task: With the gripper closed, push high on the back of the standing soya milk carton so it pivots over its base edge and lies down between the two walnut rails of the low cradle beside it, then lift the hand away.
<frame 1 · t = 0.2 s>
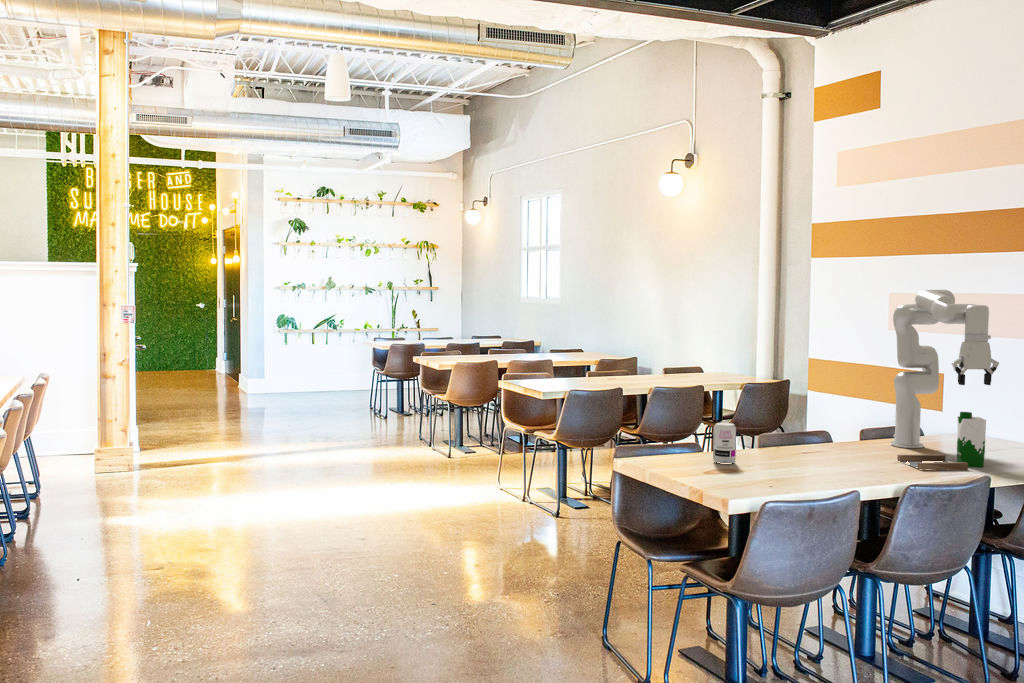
hand: (974, 384, 315), 31 cm above the table, tool pointing down, fingers open, 9 cm apart
supplement can: (724, 463, 326), on the table
soya milk: (970, 465, 322), on the table
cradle: (931, 465, 322), on the table
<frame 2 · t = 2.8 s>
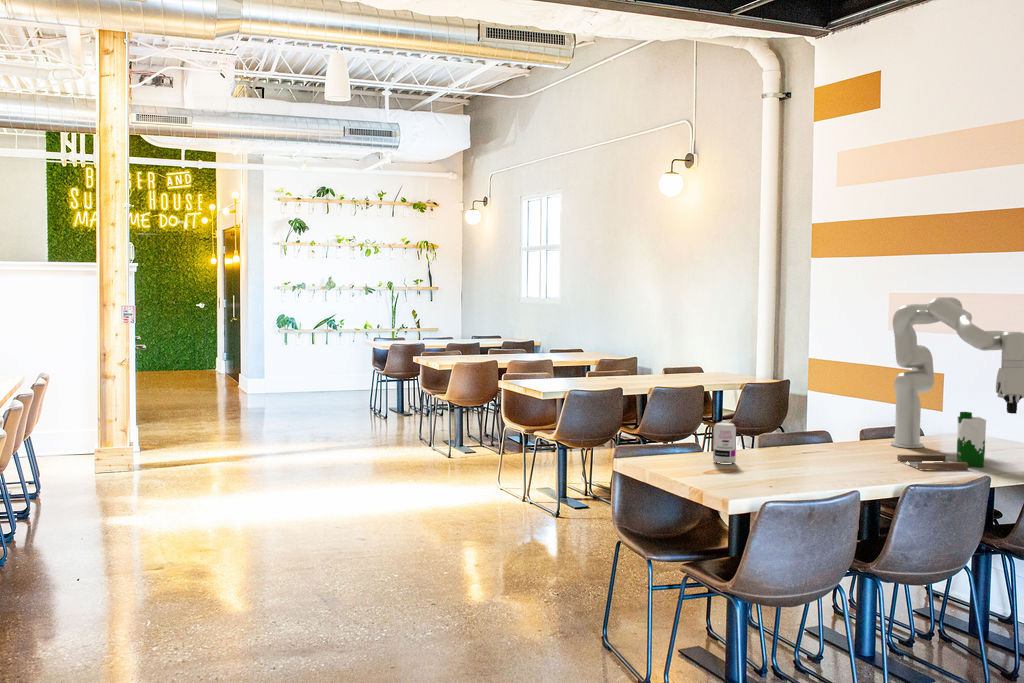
hand: (1011, 413, 322), 20 cm above the table, tool pointing down, fingers closed
nothing on the table moved.
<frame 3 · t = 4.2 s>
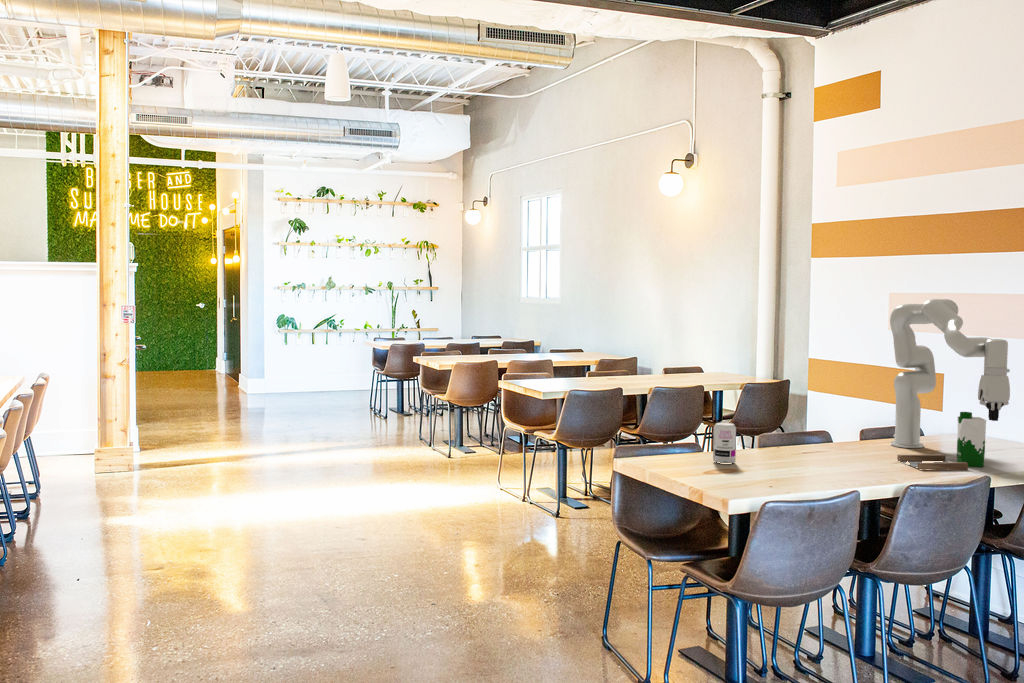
hand: (993, 420, 322), 17 cm above the table, tool pointing down, fingers closed
nothing on the table moved.
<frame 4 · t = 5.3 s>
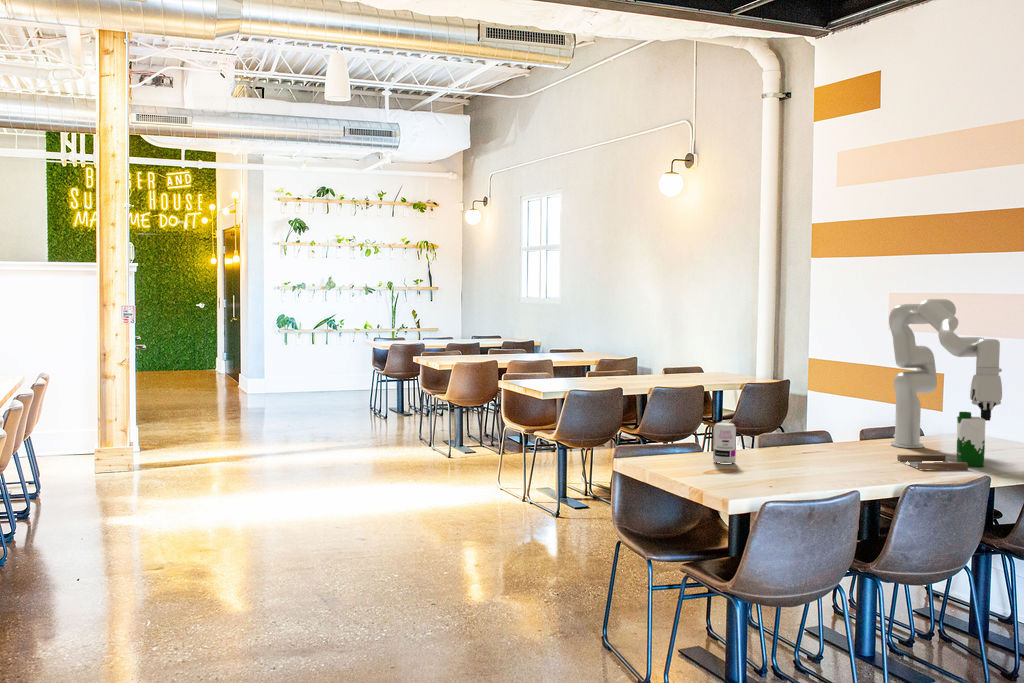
hand: (985, 420, 321), 17 cm above the table, tool pointing down, fingers closed
soya milk: (970, 465, 322), on the table, touching gripper
everything else where it was.
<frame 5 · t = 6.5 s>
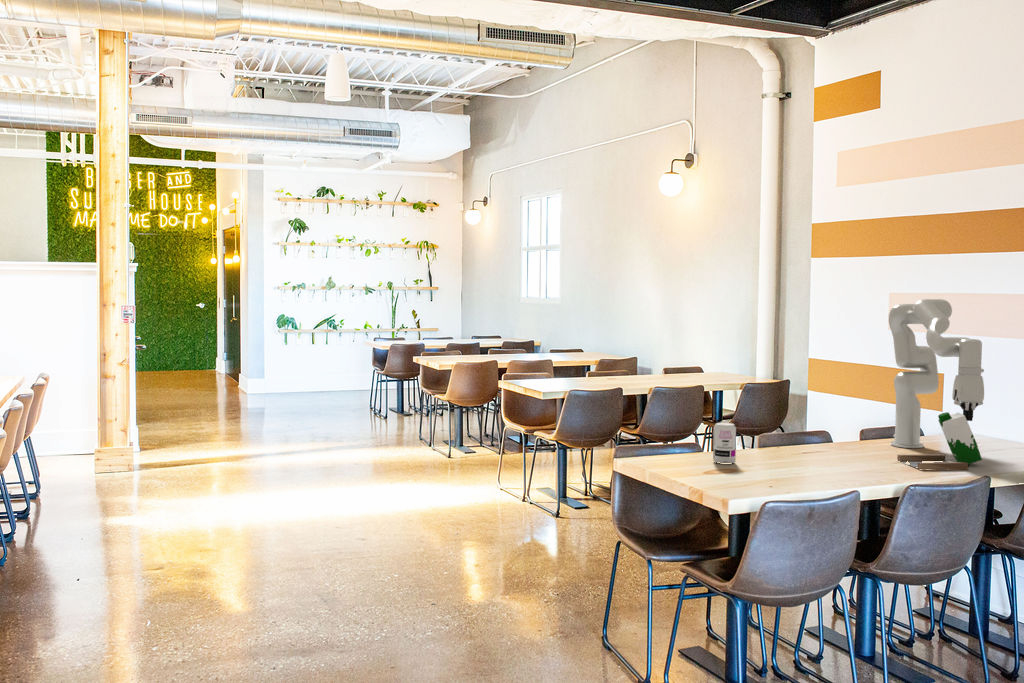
hand: (967, 420, 321), 17 cm above the table, tool pointing down, fingers closed
soya milk: (969, 461, 322), point 1 cm above the table
everything else where it was.
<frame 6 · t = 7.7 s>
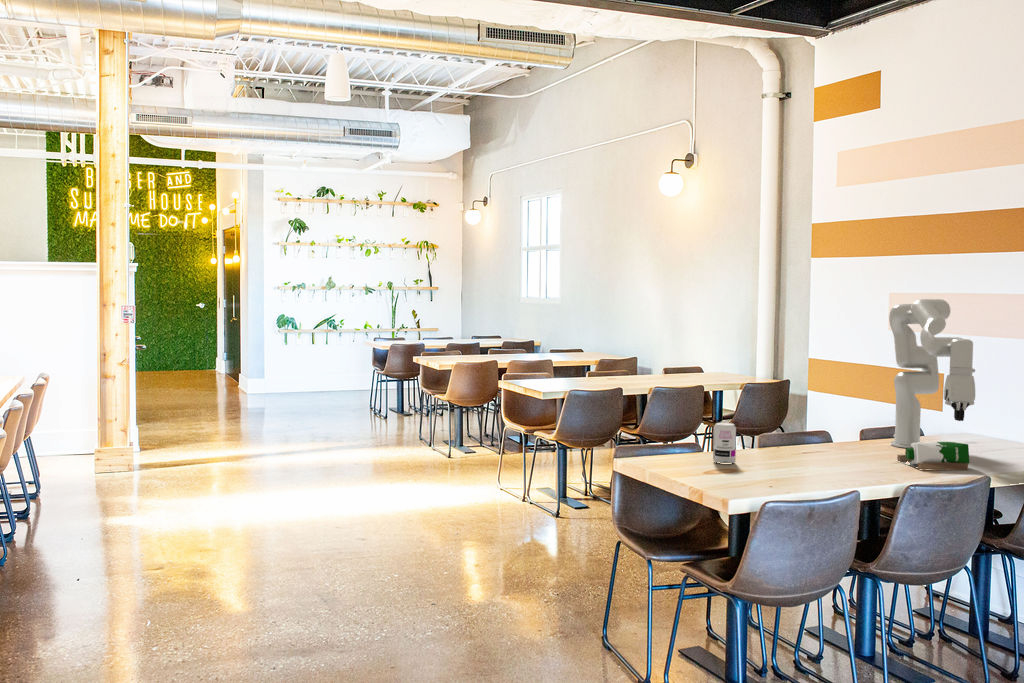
hand: (959, 420, 321), 17 cm above the table, tool pointing down, fingers closed
soya milk: (966, 453, 317), point 5 cm above the table, touching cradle
everything else where it was.
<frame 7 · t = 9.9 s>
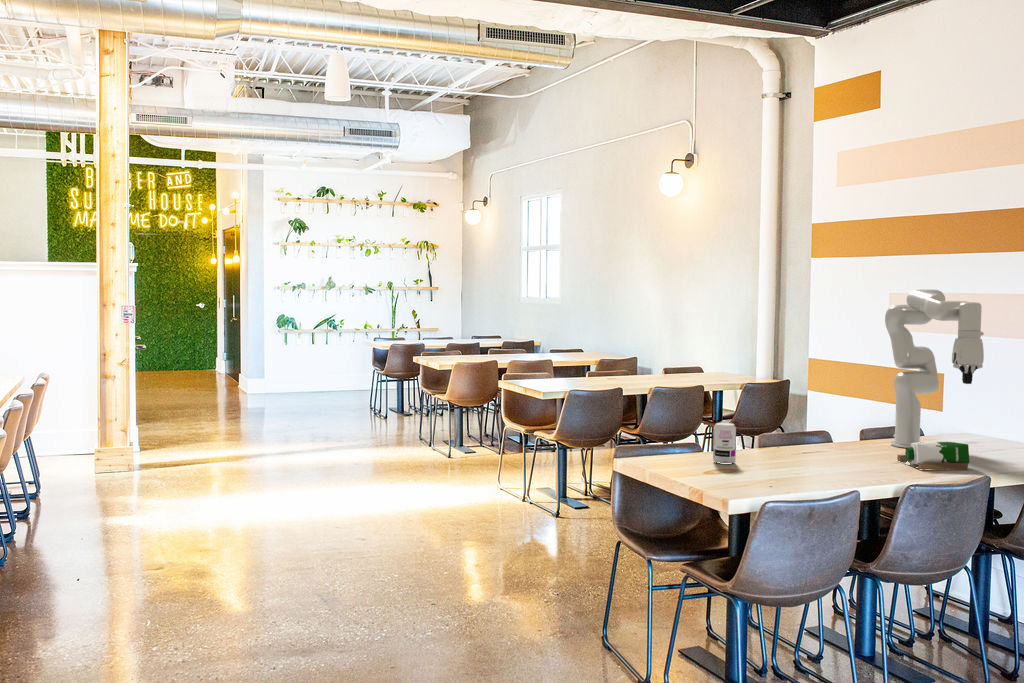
hand: (967, 383, 321), 31 cm above the table, tool pointing down, fingers closed
nothing on the table moved.
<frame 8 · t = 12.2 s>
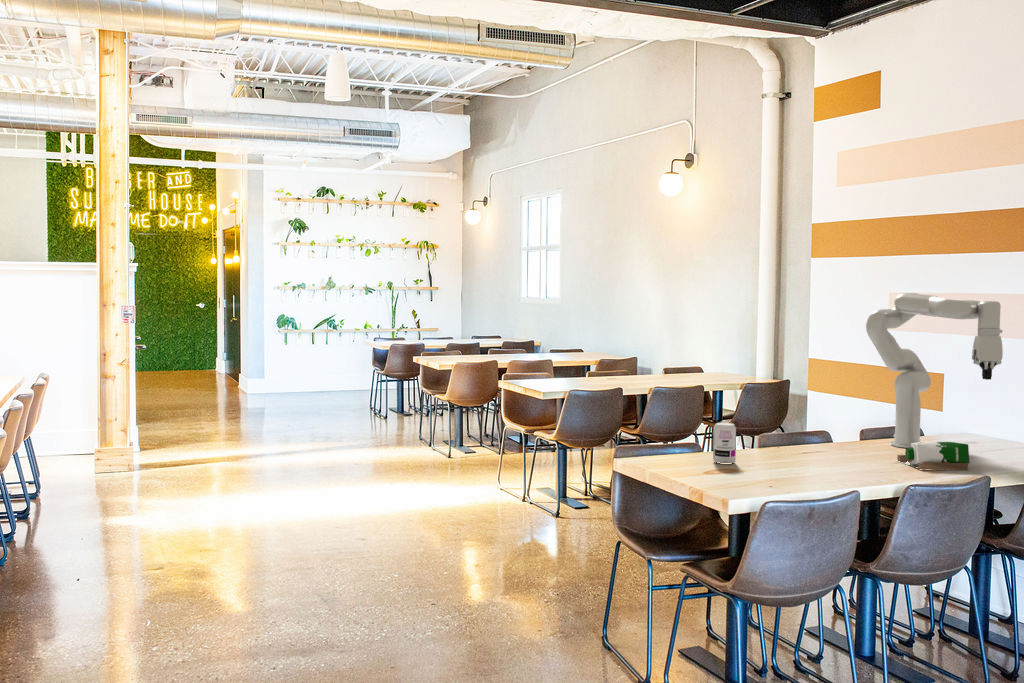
hand: (986, 379, 335), 31 cm above the table, tool pointing down, fingers closed
nothing on the table moved.
at the end: soya milk tilted 92°; soya milk inside the target area (10.0 cm from its centre), point 5.4 cm above the table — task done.
